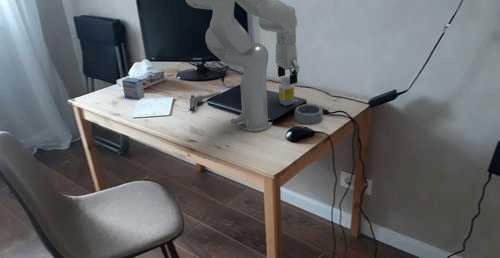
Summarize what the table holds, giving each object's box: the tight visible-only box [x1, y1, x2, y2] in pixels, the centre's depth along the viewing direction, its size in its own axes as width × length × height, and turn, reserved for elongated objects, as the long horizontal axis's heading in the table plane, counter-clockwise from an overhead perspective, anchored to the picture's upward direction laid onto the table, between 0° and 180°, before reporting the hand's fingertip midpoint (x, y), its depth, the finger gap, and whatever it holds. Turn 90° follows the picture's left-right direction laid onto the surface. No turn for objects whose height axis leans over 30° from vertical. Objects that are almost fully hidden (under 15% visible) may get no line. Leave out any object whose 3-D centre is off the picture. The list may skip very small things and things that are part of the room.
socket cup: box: [294, 103, 324, 125], centre depth 162 cm, size 10×10×4 cm
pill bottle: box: [278, 76, 295, 100], centre depth 174 cm, size 6×6×11 cm
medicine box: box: [121, 77, 145, 101], centre depth 190 cm, size 8×4×9 cm, turn 68°
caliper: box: [189, 91, 222, 110], centre depth 183 cm, size 20×1×6 cm, turn 145°
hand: (287, 79), depth 173 cm, fingers open, 9 cm apart
